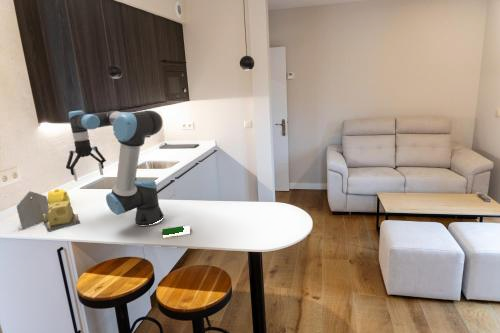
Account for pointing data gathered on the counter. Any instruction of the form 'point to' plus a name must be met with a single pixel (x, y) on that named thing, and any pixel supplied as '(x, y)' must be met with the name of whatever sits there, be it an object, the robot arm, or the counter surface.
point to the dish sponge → (172, 230)
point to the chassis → (55, 227)
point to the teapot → (57, 196)
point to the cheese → (60, 213)
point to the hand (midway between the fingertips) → (89, 177)
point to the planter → (32, 209)
